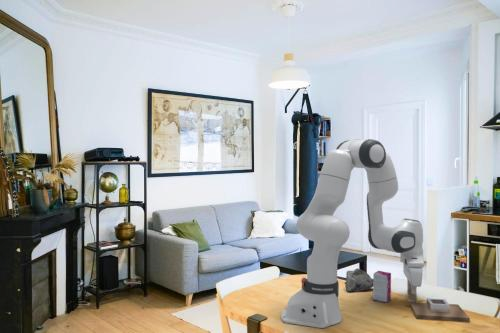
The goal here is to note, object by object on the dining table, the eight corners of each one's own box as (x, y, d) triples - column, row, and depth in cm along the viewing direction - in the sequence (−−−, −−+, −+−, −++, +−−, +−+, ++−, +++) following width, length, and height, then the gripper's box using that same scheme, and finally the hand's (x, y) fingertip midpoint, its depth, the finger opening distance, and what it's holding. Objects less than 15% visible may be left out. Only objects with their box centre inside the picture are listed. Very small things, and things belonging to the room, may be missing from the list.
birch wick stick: (408, 301, 169) (408, 277, 169) (407, 299, 172) (407, 275, 172) (416, 302, 168) (416, 278, 168) (415, 299, 171) (414, 276, 171)
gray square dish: (430, 312, 153) (430, 304, 153) (426, 305, 160) (426, 298, 160) (449, 313, 152) (449, 305, 152) (444, 306, 159) (444, 299, 159)
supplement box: (386, 303, 167) (386, 275, 167) (372, 300, 171) (372, 273, 171) (391, 299, 172) (391, 272, 172) (377, 296, 176) (377, 270, 175)
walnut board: (416, 318, 151) (416, 314, 151) (409, 305, 165) (409, 301, 165) (469, 322, 147) (469, 318, 147) (457, 308, 161) (457, 304, 161)
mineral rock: (377, 289, 186) (377, 267, 186) (372, 296, 177) (372, 273, 177) (349, 285, 192) (348, 264, 192) (343, 292, 183) (342, 269, 183)
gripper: (399, 252, 181) (399, 283, 181) (408, 263, 161) (408, 298, 161) (414, 252, 179) (415, 283, 180) (425, 264, 159) (425, 299, 160)
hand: (411, 291), depth 170 cm, fingers open, 5 cm apart
